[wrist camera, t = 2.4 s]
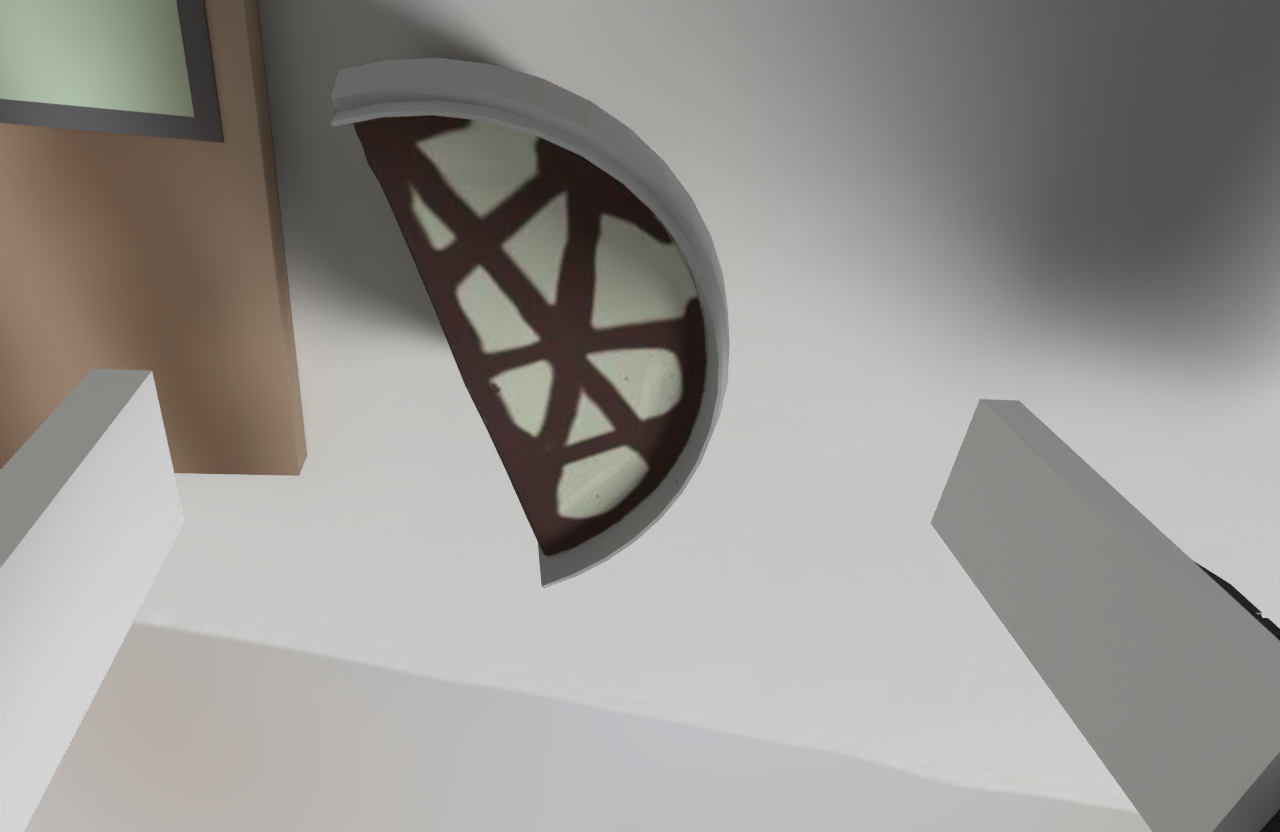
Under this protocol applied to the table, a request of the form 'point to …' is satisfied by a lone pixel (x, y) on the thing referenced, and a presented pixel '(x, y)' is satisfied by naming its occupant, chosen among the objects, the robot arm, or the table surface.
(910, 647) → the table surface
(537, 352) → the food container
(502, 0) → the table surface
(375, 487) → the table surface
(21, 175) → the picture board
